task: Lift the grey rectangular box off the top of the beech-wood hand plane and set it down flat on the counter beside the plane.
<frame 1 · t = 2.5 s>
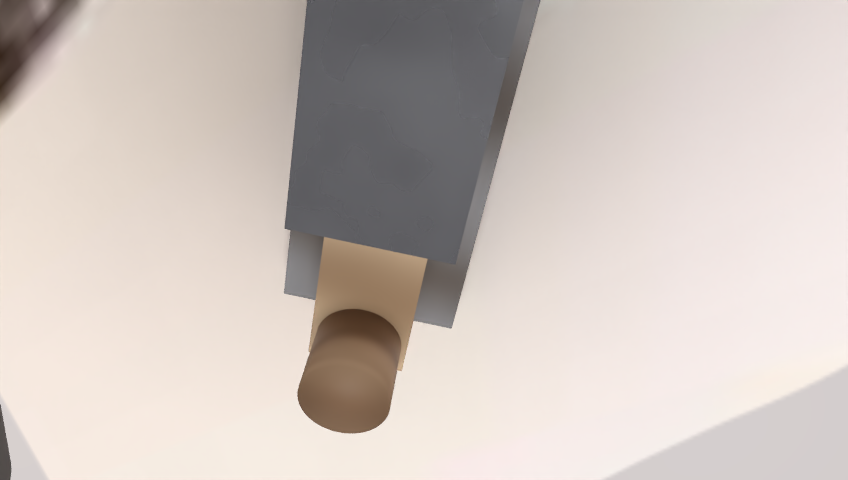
grey rectangular box: (408, 70, 24), point 5 cm above the table, touching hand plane
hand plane: (420, 40, 28), on the table
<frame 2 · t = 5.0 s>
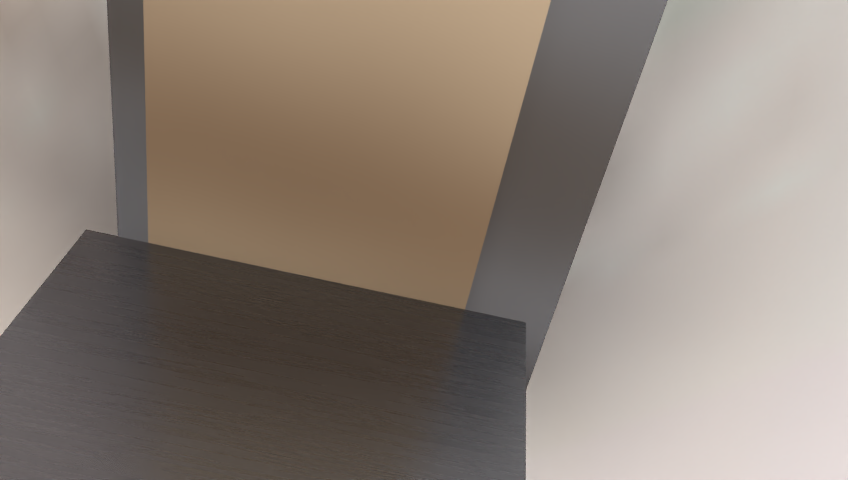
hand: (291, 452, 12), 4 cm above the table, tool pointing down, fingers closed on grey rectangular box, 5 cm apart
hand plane: (339, 319, 16), on the table
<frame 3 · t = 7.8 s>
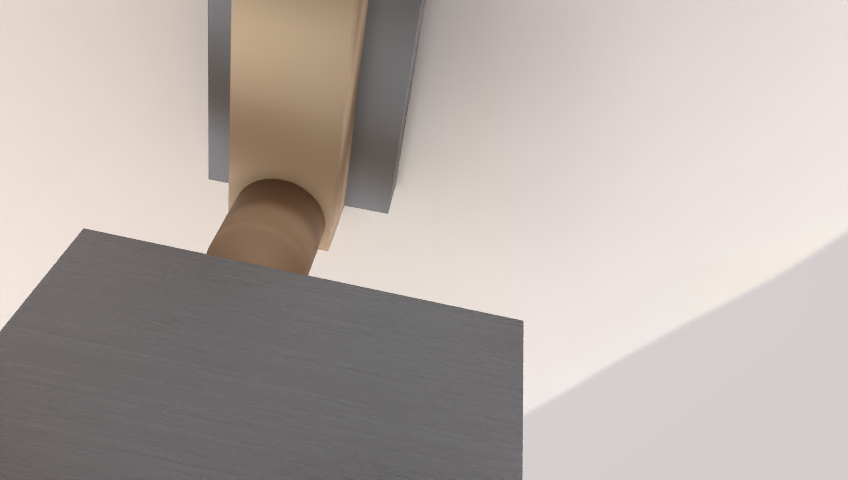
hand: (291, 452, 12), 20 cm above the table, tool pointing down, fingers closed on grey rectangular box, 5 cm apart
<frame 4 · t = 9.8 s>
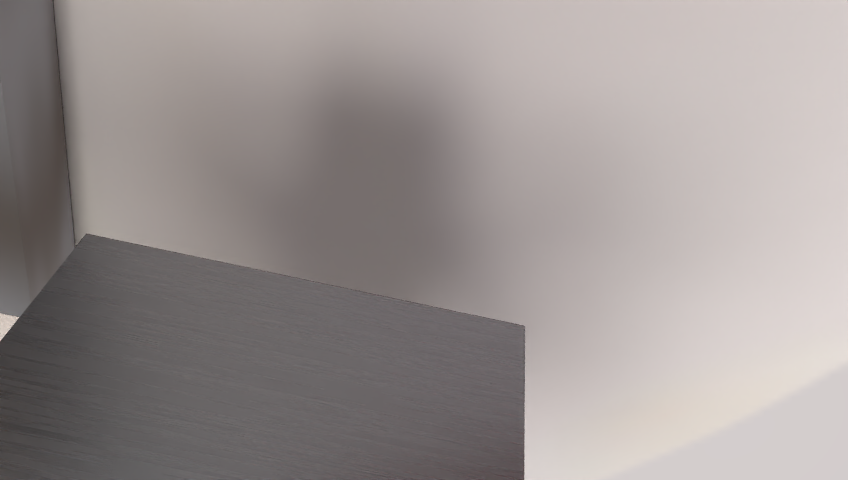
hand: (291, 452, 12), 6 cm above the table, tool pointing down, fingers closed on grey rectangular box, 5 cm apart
when the fingers open (1 cm above the table, at t = 11.1 s): grey rectangular box drops 2 cm, on the table.
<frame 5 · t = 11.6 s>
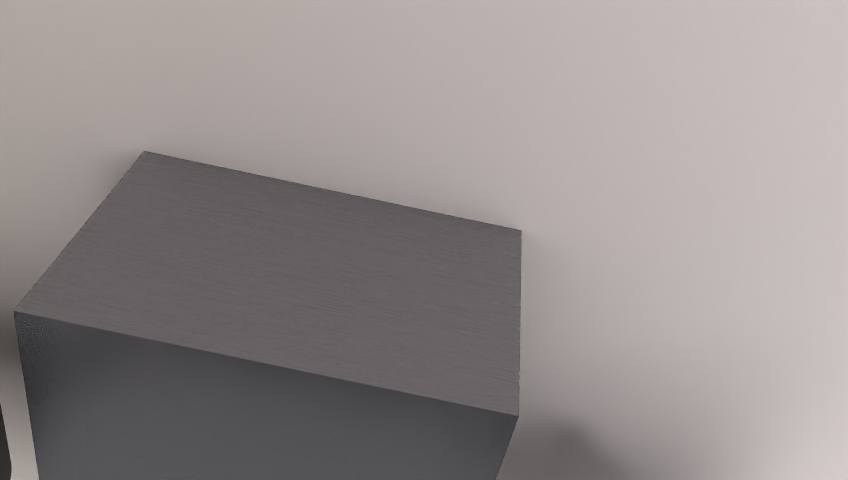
grey rectangular box: (308, 389, 13), on the table
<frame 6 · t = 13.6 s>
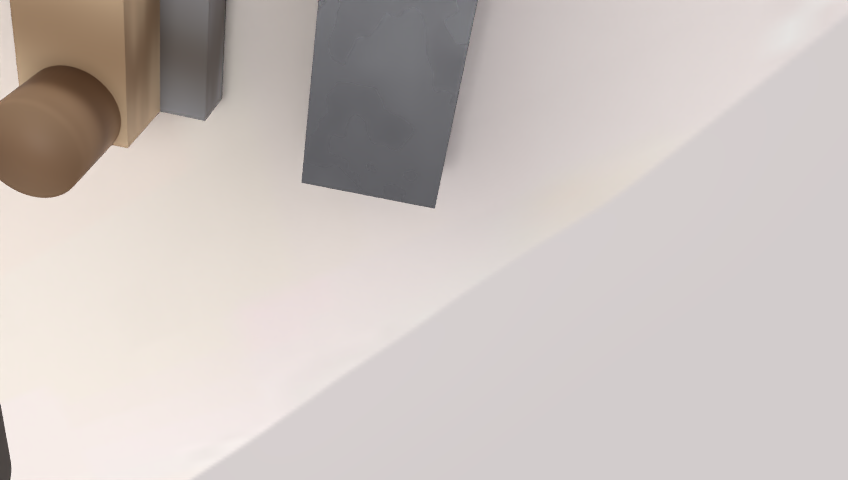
grey rectangular box: (395, 59, 30), on the table
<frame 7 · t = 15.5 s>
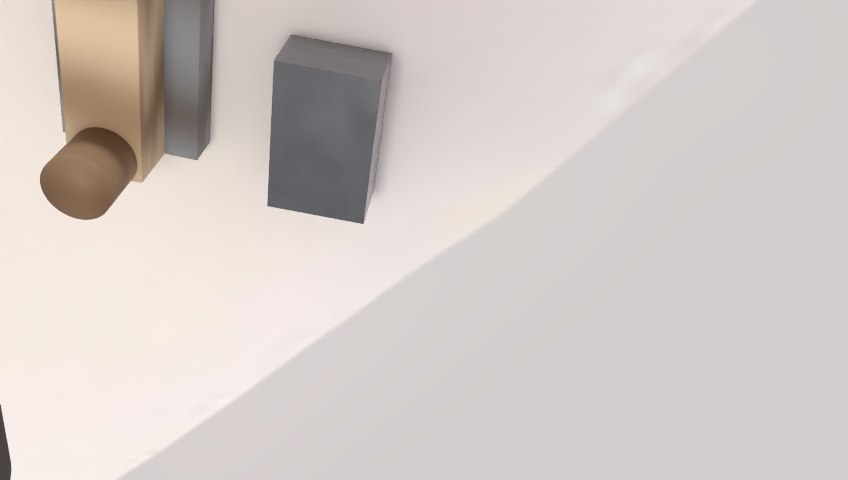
grey rectangular box: (335, 115, 42), on the table
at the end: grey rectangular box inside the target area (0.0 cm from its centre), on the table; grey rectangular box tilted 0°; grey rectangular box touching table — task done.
